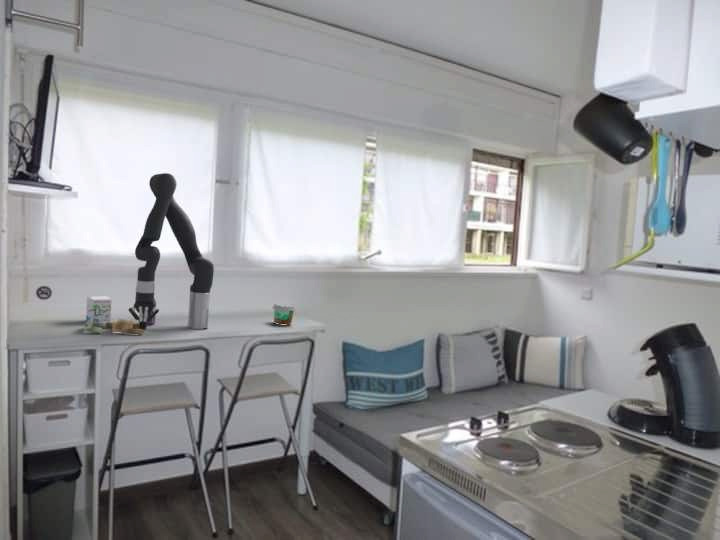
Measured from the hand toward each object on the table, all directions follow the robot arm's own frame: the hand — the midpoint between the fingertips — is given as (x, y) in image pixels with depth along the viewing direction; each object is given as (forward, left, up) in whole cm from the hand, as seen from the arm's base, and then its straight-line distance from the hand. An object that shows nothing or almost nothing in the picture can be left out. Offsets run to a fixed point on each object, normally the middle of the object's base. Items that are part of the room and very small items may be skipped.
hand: (142, 329), depth 232 cm
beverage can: (0, -17, -1) cm, 17 cm away
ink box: (+21, -17, -2) cm, 27 cm away
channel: (+11, 0, -1) cm, 11 cm away
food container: (-64, -28, -1) cm, 70 cm away
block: (+8, 0, -1) cm, 8 cm away
